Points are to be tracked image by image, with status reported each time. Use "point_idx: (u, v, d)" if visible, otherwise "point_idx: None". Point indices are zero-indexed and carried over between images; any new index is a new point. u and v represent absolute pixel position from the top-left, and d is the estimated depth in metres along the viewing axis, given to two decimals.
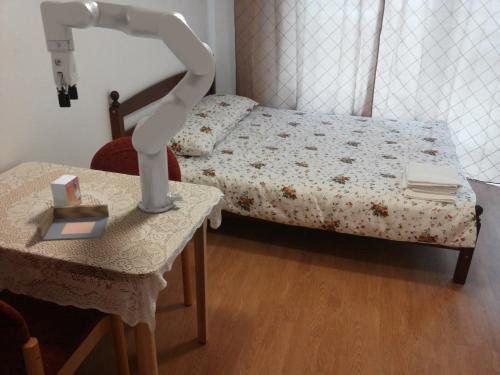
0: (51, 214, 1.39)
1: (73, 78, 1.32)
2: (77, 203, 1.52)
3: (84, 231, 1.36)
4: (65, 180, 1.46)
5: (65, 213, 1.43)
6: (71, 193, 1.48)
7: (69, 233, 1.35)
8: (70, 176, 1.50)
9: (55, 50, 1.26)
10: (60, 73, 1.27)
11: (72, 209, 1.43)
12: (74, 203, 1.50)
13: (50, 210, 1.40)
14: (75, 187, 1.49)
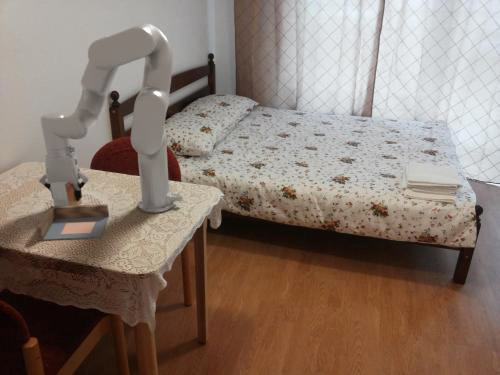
0: (51, 214, 1.39)
1: None
2: (77, 203, 1.52)
3: (84, 231, 1.36)
4: None
5: (65, 213, 1.43)
6: (71, 193, 1.48)
7: (69, 233, 1.35)
8: None
9: (70, 153, 1.44)
10: (78, 171, 1.47)
11: (72, 209, 1.43)
12: (74, 203, 1.50)
13: (50, 210, 1.40)
14: None
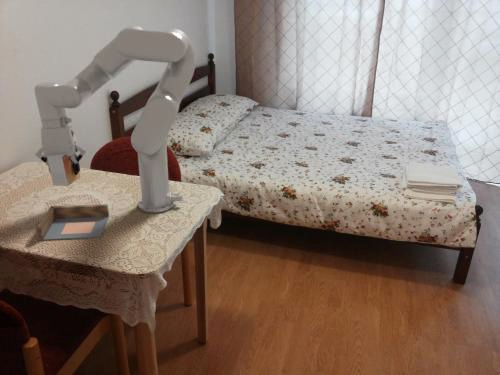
0: (51, 214, 1.39)
1: None
2: (75, 177, 1.48)
3: (84, 231, 1.36)
4: None
5: (65, 213, 1.43)
6: (69, 166, 1.44)
7: (69, 233, 1.35)
8: None
9: (66, 124, 1.40)
10: (75, 143, 1.43)
11: (72, 209, 1.43)
12: (72, 177, 1.46)
13: (50, 210, 1.40)
14: (72, 161, 1.45)
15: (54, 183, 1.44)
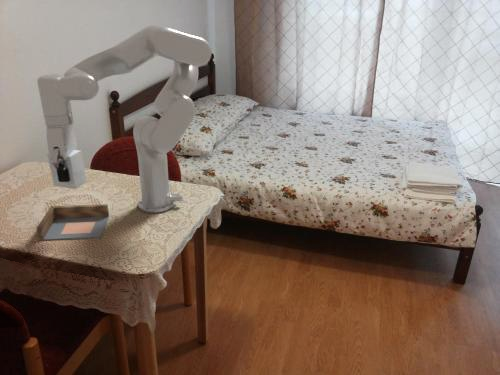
0: (51, 214, 1.39)
1: None
2: None
3: (84, 231, 1.36)
4: None
5: (65, 213, 1.43)
6: None
7: (69, 233, 1.35)
8: None
9: None
10: None
11: (72, 209, 1.43)
12: None
13: (50, 210, 1.40)
14: None
15: (77, 186, 1.30)
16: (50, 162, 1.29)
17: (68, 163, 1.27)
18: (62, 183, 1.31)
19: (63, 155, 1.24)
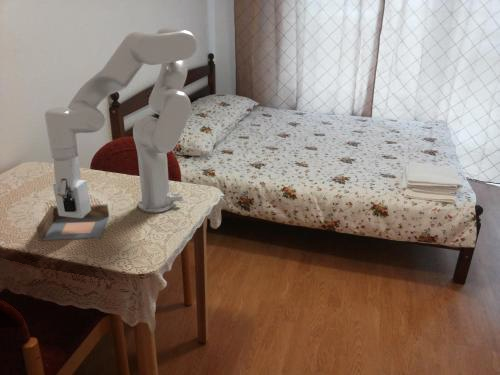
0: (51, 214, 1.39)
1: None
2: None
3: (84, 231, 1.36)
4: None
5: None
6: None
7: (69, 233, 1.35)
8: None
9: None
10: None
11: None
12: None
13: (50, 210, 1.40)
14: None
15: (83, 215, 1.33)
16: (56, 193, 1.31)
17: (75, 193, 1.29)
18: (67, 213, 1.33)
19: (70, 186, 1.27)
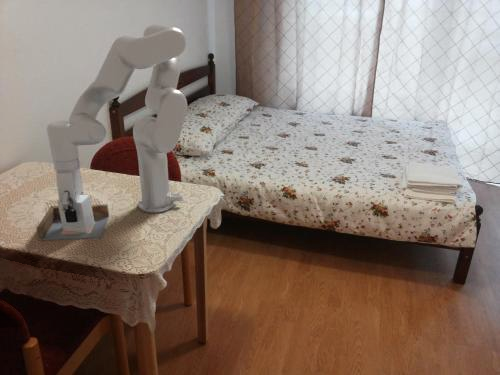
0: (51, 214, 1.39)
1: None
2: None
3: None
4: None
5: None
6: None
7: (69, 233, 1.35)
8: None
9: None
10: None
11: None
12: None
13: (50, 210, 1.40)
14: None
15: (87, 229, 1.35)
16: (60, 208, 1.33)
17: (79, 209, 1.32)
18: (72, 227, 1.35)
19: (72, 196, 1.28)
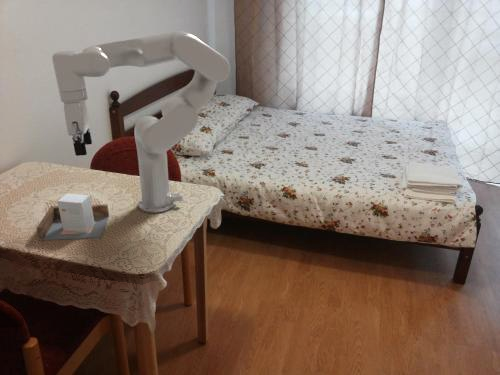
0: (51, 214, 1.39)
1: None
2: None
3: None
4: (79, 196, 1.35)
5: None
6: None
7: (69, 233, 1.35)
8: (66, 196, 1.35)
9: None
10: None
11: None
12: None
13: (50, 210, 1.40)
14: None
15: (87, 229, 1.35)
16: (60, 208, 1.33)
17: (79, 209, 1.32)
18: (72, 227, 1.35)
19: (81, 127, 1.29)
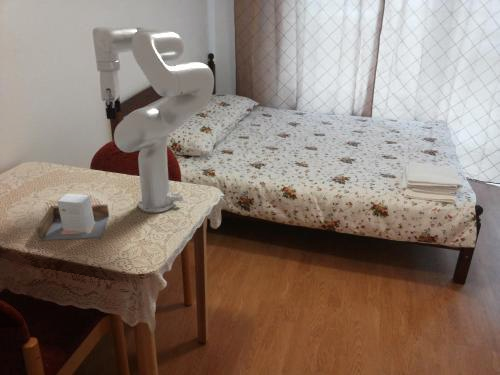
0: (51, 214, 1.39)
1: None
2: None
3: None
4: (79, 196, 1.35)
5: None
6: None
7: (69, 233, 1.35)
8: (66, 196, 1.35)
9: None
10: None
11: None
12: None
13: (50, 210, 1.40)
14: None
15: (87, 229, 1.35)
16: (60, 208, 1.33)
17: (79, 209, 1.32)
18: (72, 227, 1.35)
19: (113, 94, 1.47)
